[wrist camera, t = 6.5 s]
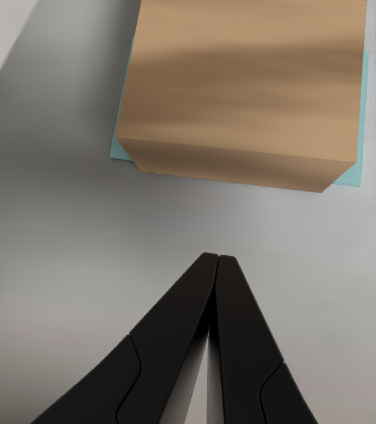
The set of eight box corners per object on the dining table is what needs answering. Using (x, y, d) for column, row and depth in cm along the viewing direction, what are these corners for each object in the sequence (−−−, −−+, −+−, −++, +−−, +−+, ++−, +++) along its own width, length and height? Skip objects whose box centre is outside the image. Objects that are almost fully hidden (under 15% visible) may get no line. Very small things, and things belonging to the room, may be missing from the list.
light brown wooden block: (356, 162, 14) (369, -50, 16) (115, 136, 15) (152, -58, 17) (321, 192, 19) (334, 28, 21) (140, 171, 20) (167, 17, 22)
